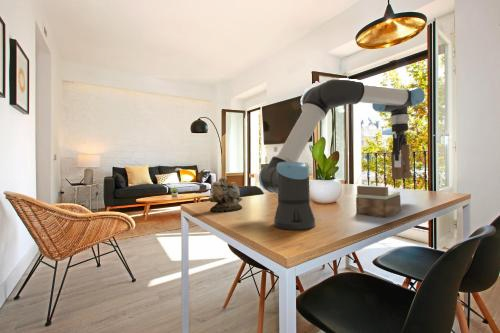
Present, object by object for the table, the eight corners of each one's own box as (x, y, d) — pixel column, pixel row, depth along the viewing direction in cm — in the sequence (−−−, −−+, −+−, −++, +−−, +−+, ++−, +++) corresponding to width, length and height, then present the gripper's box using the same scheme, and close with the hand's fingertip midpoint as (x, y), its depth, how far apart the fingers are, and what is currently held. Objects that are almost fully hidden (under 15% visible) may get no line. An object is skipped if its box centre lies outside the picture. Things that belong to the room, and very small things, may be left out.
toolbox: (356, 213, 109) (356, 197, 109) (372, 207, 120) (372, 193, 120) (386, 217, 100) (385, 200, 100) (400, 210, 112) (400, 195, 111)
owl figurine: (214, 214, 119) (212, 178, 119) (204, 211, 129) (203, 177, 129) (246, 209, 128) (245, 175, 128) (235, 206, 138) (234, 175, 138)
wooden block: (391, 179, 133) (390, 144, 133) (404, 177, 138) (404, 144, 137) (398, 179, 130) (397, 144, 130) (411, 178, 134) (410, 144, 134)
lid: (356, 197, 109) (356, 186, 109) (372, 192, 120) (372, 182, 120) (385, 199, 100) (385, 187, 100) (399, 194, 112) (399, 183, 111)
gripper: (400, 121, 122) (401, 167, 123) (414, 124, 137) (415, 165, 137) (384, 123, 128) (385, 167, 128) (398, 126, 143) (399, 166, 143)
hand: (400, 166), depth 133 cm, fingers open, 9 cm apart
